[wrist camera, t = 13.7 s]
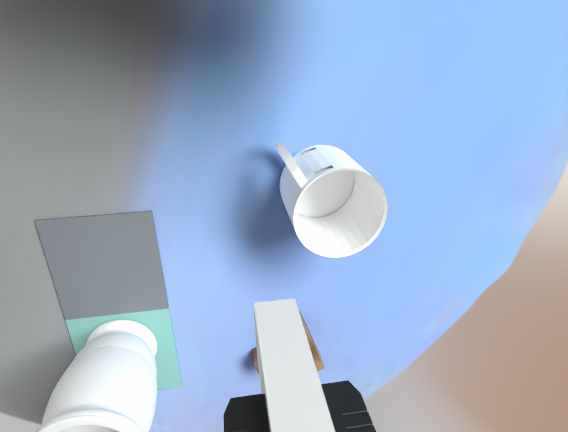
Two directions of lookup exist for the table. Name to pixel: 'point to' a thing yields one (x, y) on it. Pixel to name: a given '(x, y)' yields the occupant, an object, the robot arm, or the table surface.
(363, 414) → the robot arm
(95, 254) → the mat
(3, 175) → the table surface
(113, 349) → the jar
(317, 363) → the t block
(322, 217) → the mug
